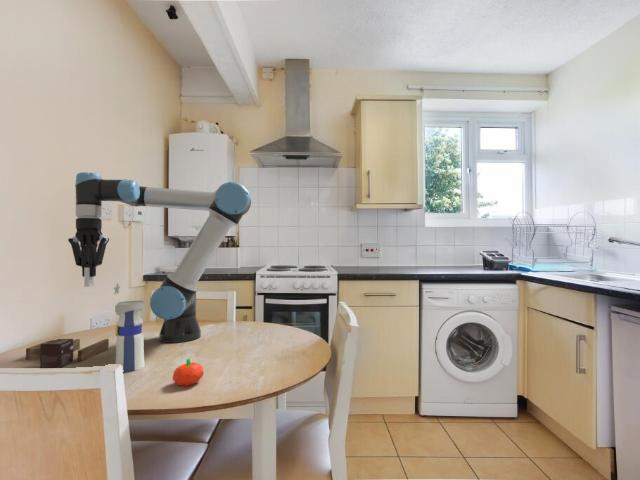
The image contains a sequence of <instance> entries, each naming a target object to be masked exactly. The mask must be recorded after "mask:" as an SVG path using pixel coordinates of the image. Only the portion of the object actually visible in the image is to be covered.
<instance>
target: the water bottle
mask: <svg viewBox="0 0 640 480" xmlns="http://www.w3.org/2000/svg"><path fill="white" fill-rule="evenodd" d="M120 288H121V286H119V284H118V283H117V282H116V285H115V287H113V289H114V290H115V291H114V295H117V294H119V293H120V291H119V290H120ZM144 308H146V304H145V301H144V300H126V301H125V300H124V301H119V302H117V303H116V304H115V306H114V312H115V313H116V316H119V317H118V320H117V322H116V325H115V336H116V341H115V364H121V365H122V366H123V370H124V372H123V373H131V372H135V371H140V370H142V369H144V368H145V352H144V350H145V348H144V347H145V346H144V343H145V342H144V339H145V338H144V333H143V330H142V328H143V327H142V326H143V323H144V320H143V319H142V309H144Z"/></svg>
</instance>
